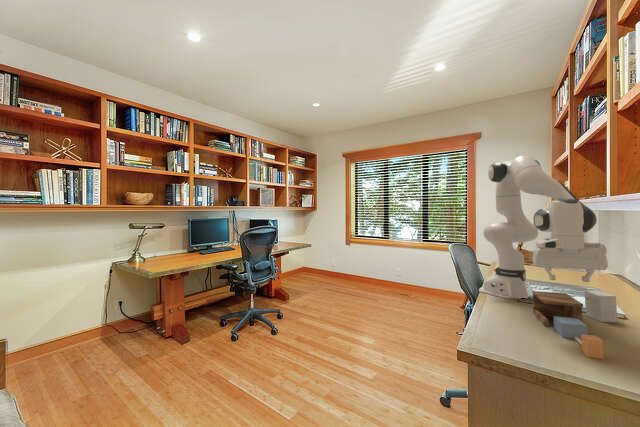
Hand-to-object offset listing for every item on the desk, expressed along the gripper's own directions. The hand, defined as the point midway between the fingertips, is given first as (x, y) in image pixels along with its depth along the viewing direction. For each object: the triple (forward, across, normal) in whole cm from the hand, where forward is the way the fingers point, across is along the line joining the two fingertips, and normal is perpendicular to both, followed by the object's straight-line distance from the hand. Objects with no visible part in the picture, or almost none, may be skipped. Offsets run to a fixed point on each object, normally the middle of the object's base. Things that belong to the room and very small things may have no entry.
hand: (568, 280), depth 97 cm
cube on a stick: (+19, 0, +7) cm, 21 cm away
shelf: (+19, +1, -11) cm, 22 cm away
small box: (+20, -17, -20) cm, 33 cm away
